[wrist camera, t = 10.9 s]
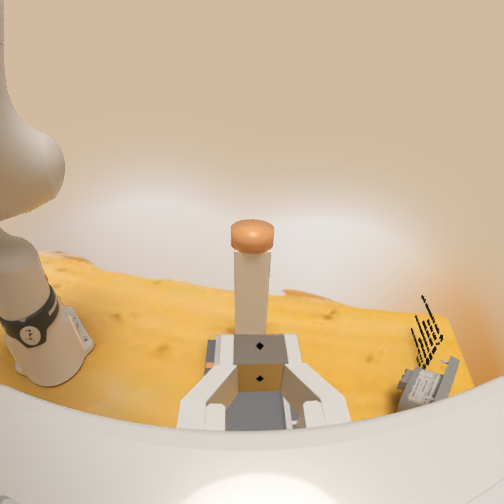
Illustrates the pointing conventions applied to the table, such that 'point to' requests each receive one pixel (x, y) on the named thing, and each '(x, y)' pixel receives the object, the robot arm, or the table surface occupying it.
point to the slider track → (254, 404)
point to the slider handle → (251, 274)
